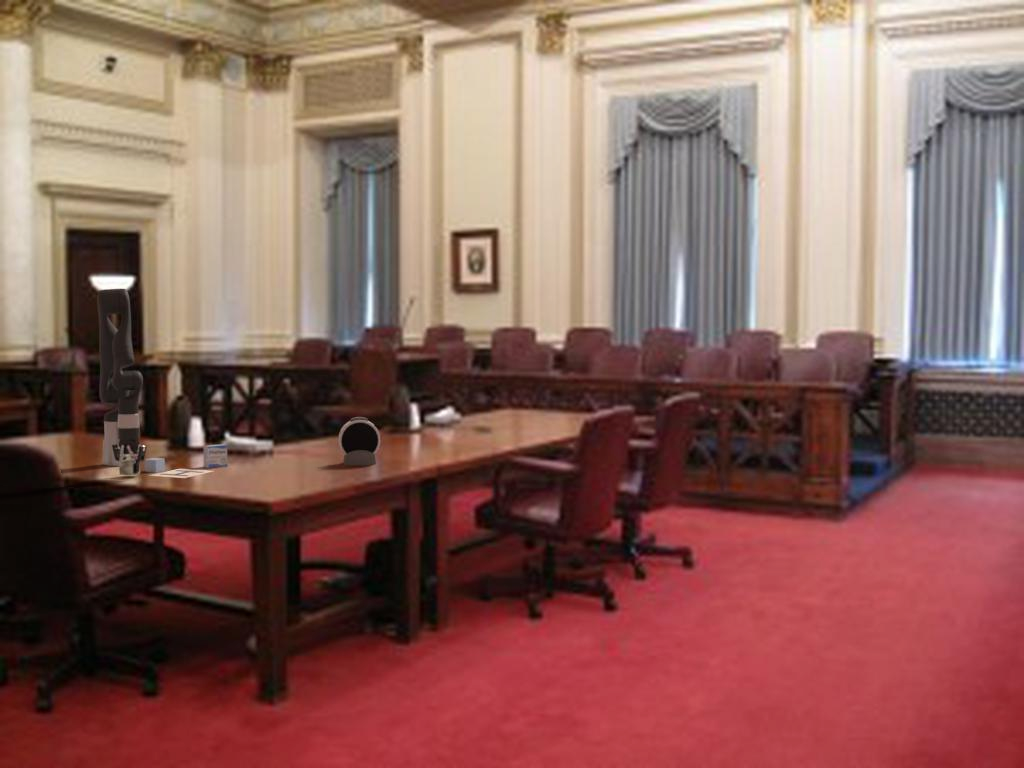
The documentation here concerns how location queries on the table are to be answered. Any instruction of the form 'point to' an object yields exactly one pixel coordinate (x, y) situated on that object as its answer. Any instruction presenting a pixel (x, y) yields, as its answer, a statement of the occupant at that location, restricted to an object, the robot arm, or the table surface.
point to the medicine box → (215, 456)
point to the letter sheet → (181, 473)
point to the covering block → (127, 467)
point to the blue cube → (154, 464)
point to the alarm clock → (359, 442)
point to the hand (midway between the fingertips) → (129, 472)
